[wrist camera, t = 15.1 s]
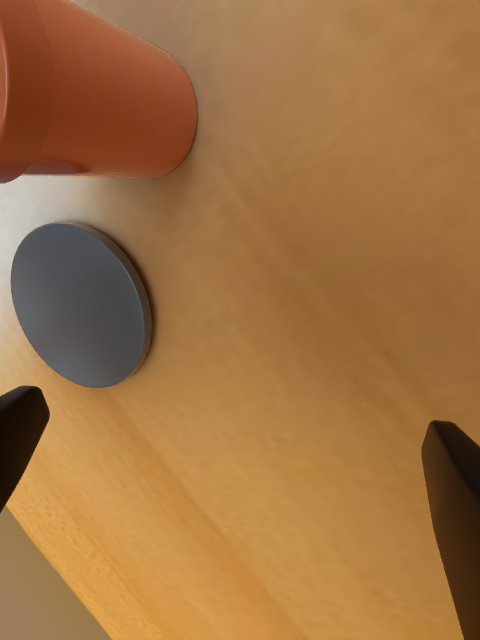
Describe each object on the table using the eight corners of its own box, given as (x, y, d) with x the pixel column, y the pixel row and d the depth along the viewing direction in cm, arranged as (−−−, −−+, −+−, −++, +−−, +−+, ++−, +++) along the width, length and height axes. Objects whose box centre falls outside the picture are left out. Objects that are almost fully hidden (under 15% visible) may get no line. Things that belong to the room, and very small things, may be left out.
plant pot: (228, 121, 18) (-33, 33, 8) (146, 209, 22) (-119, 235, 11) (147, 4, 18) (-243, -259, 7) (76, 111, 21) (-266, 38, 11)
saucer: (182, 288, 22) (171, 293, 21) (122, 409, 27) (111, 418, 26) (45, 186, 24) (28, 186, 23) (13, 319, 29) (-2, 324, 28)
